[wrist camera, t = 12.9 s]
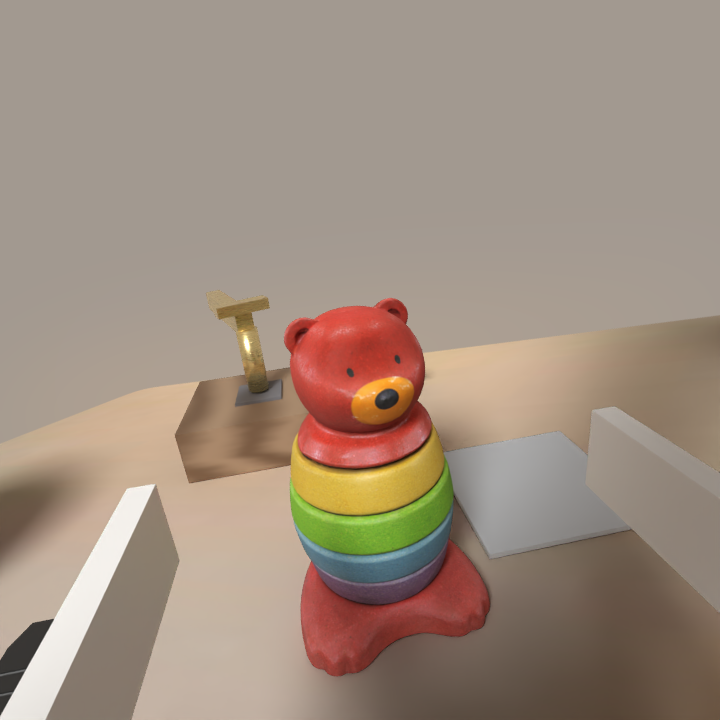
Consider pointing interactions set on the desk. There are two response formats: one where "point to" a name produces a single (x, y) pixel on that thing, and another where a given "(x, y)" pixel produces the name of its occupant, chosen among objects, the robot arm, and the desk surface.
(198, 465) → the lock block
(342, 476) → the stacking bear
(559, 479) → the mat
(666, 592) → the desk surface
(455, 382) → the desk surface
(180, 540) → the desk surface
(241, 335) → the gold piece
